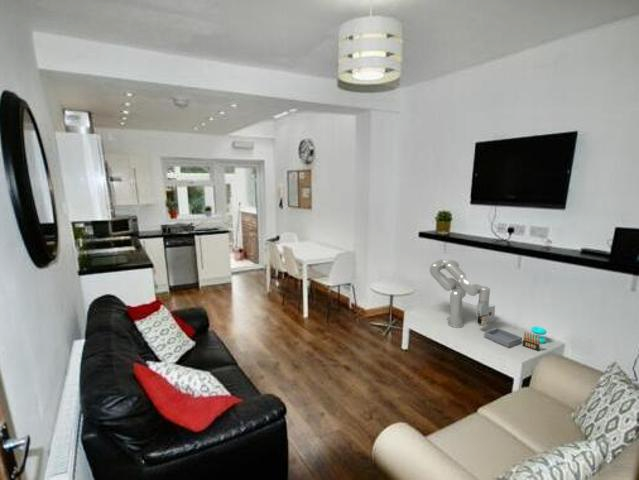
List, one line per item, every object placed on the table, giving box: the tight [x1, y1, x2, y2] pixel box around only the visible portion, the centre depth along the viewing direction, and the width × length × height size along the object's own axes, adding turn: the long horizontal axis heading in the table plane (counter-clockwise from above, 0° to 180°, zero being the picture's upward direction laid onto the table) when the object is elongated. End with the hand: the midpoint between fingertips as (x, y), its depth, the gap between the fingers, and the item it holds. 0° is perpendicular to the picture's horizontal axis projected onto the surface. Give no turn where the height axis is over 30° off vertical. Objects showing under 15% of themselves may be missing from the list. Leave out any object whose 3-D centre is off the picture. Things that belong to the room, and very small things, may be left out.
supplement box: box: [486, 303, 496, 324], centre depth 294 cm, size 9×9×15 cm
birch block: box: [476, 315, 487, 327], centre depth 273 cm, size 4×4×8 cm
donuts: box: [530, 326, 548, 344], centre depth 255 cm, size 10×10×10 cm
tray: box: [483, 327, 523, 349], centre depth 258 cm, size 20×16×4 cm
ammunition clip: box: [521, 330, 541, 352], centre depth 245 cm, size 11×2×12 cm, turn 39°
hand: (481, 322), depth 274 cm, fingers closed on birch block, 4 cm apart
